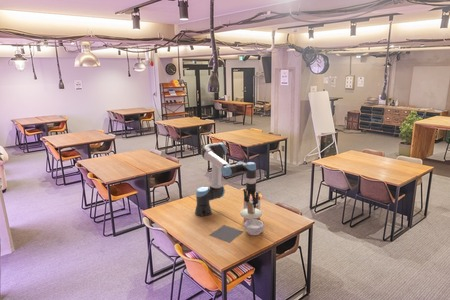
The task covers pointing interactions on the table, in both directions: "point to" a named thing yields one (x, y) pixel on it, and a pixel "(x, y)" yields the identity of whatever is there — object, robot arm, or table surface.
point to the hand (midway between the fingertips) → (251, 210)
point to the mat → (226, 233)
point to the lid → (251, 212)
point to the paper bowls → (254, 227)
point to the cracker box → (256, 206)
